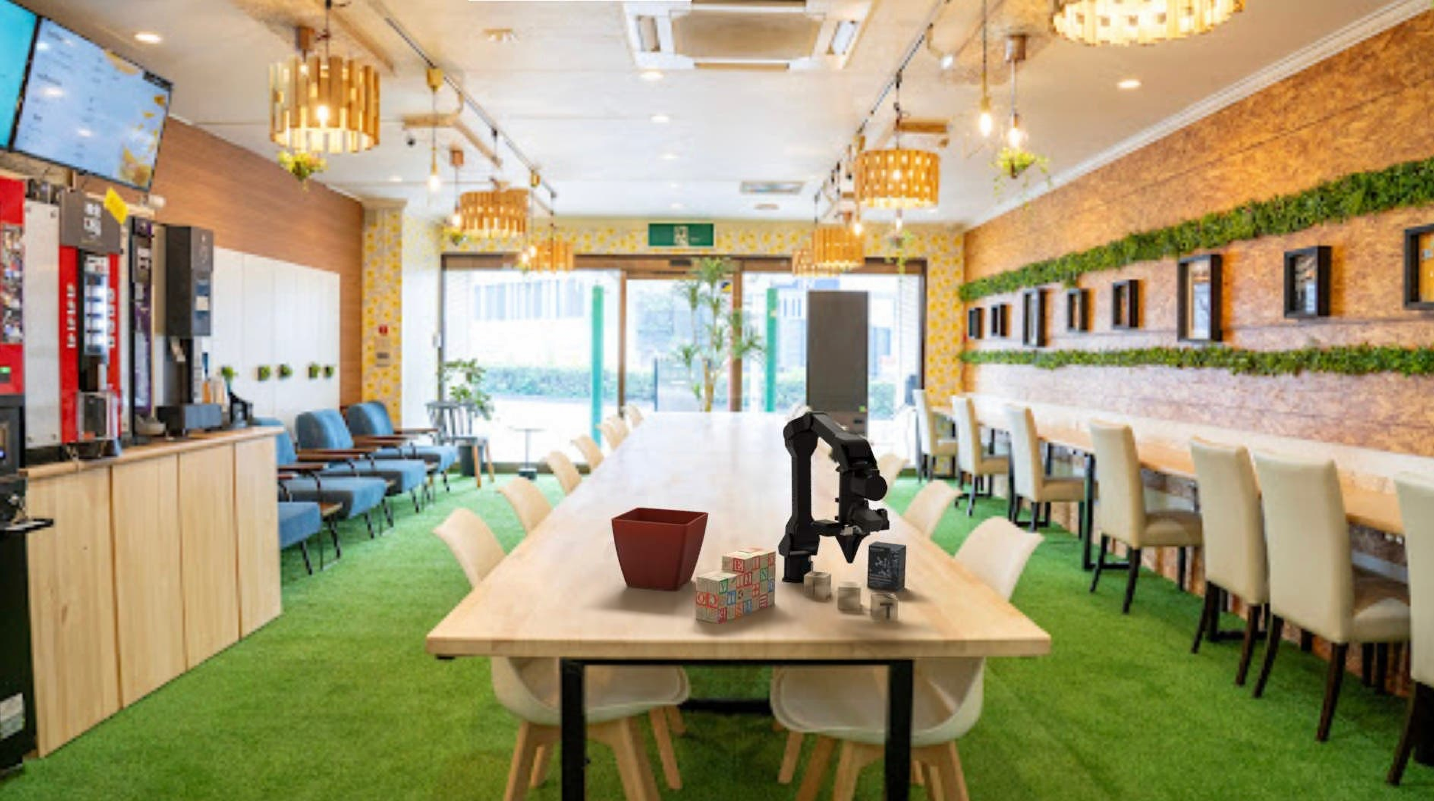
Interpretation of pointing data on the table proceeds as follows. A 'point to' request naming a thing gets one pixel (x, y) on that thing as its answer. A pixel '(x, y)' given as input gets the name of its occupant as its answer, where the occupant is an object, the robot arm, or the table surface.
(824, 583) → the numeral cube one
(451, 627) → the table surface
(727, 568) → the stack of blocks
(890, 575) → the box
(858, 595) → the plain maple cube
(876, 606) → the letter t cube
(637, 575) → the plant pot
